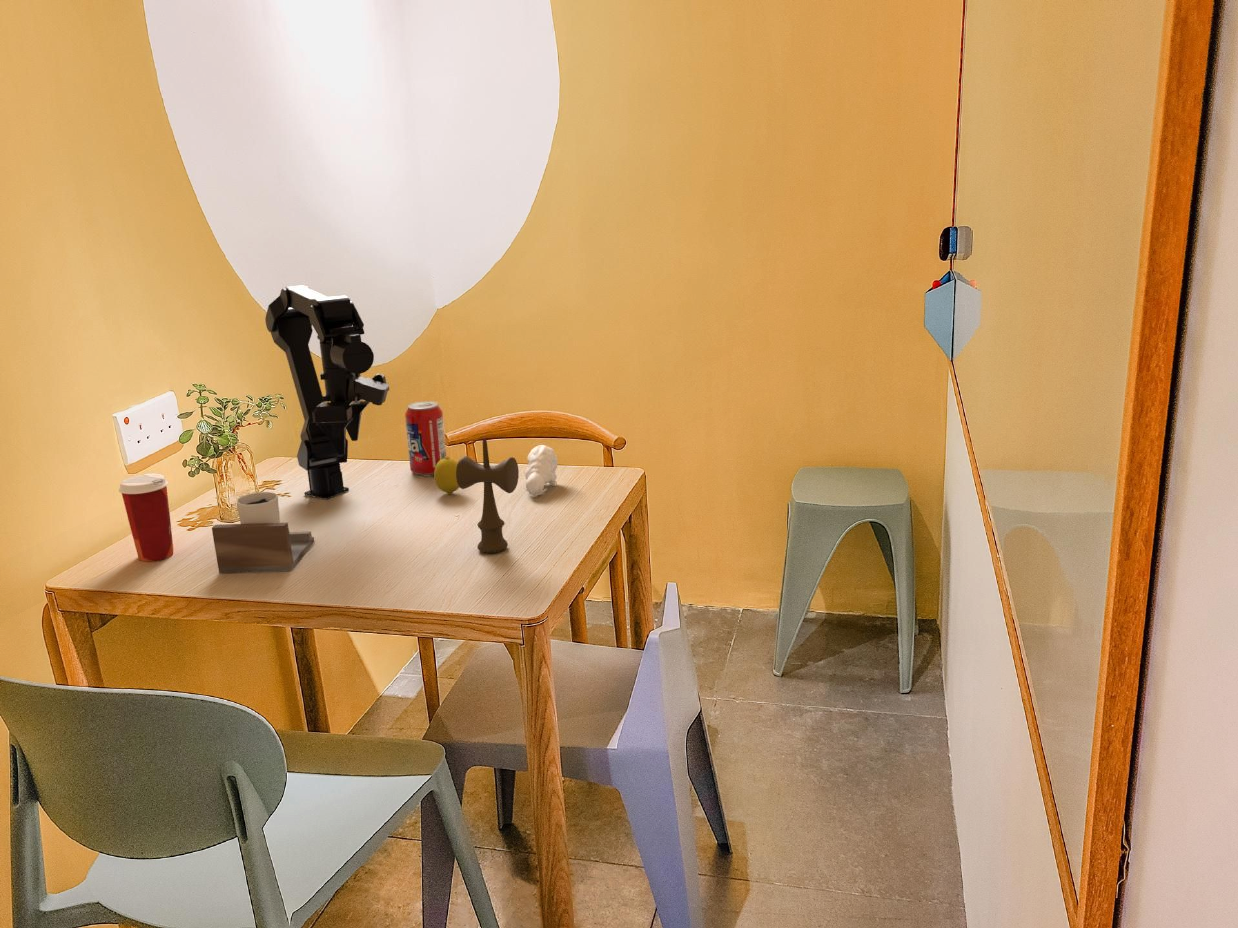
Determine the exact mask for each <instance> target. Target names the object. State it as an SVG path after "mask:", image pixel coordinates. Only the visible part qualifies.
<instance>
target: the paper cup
mask: <svg viewBox="0 0 1238 928" xmlns="http://www.w3.org/2000/svg"><path fill="white" fill-rule="evenodd" d="M168 485H169V482H168V480H166V477H165V476H164V474H160V473H144V474H143V473H142V474H138V475H137V474H136V475H132V476H130V477H127V478H125V479H123V480H122V481H121V482H120V487H119V488H118V491H119V492H118V493H121V496H122V500H123V504H124V507H125V511H126V515H127V519H128V524H129V527H130V531H131V534H132V535H131V536H132V539H133V542H134V547H135V551H136V554H137V556H138V559H139V561H141V562H144V563H146V562H147V563H154V562H159V561H163V560H166V559H168V558H170V557H172V556H173V555H174V543H173V534H172V533H173V532H172V522H171V516H170V515H171V514H170V505H169V497H168V487H167V486H168Z"/></svg>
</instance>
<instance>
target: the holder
mask: <svg viewBox="0 0 1238 928" xmlns="http://www.w3.org/2000/svg"><path fill="white" fill-rule="evenodd" d="M211 531H212V536H213V537H212V538H213V544H214V549H215V550H214V551H215V558H216V562H217V569H218V574H231V573H233V574H234V573H235V574H236V573H265V572H266V573H267V572H268V573H270V572H272V573H273V572H275V573H277V572H292V571H293V570H294V568H295V567H296V566H297V564H298V563H299V562H300V561H301V560H302V558H303V557H304V556H305V554H307V552H308V551H309V550H310V549H311V547H312V546H313V544H314V543H315V537H314V536H312V531H310V530H307V531H290V529H289V522H280V523H255V524H241V523H229V524H228V523H227V524H221V523H220V524H214V525H213V526H212V527H211Z"/></svg>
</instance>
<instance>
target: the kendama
mask: <svg viewBox="0 0 1238 928" xmlns="http://www.w3.org/2000/svg"><path fill="white" fill-rule="evenodd" d="M489 456H490V455H489V449H488V442H487V437H483V438H482V461H483V462H482V464H481V463H479V462H477V461H475V460H474V459H473V458H470V457H469V456H467V455H465V456H461V458H459V460H458V461H457V462H458V464H457V468H456V480H457V484H458V486H459V488H460V489H461V490H465V489H468V488H470V487H472V486H474V485H475V484H479V483H483V502H482V512H481V513H482V514H481V519H480V520H479V521H478V522H477V527H478V529H480V533H481V538H480V539H481V540H480V541H479V542H478V544H477V547H476V548H477V550H478V551H480V552H482V553H488V554H490V553H491V554H495V553H499V552H503V551H505V549H507V547H508V545H509V543H508V541H507V540H506V539H505V537H504V535H503V527H504V526H505V521H504V520H503V519H501V517H500V516H499V512H498V508H497V505H496V504H497V503H496V498H495V494H494V489H493V488H494V487H493V485H495V486H497V487H498V488H500V489H501V490H502V491H503V492H505V493H507V494H511V493H513V492H514V491H515V490H516V489H517V486H518V482H519V475H520V474H519V472H520V471H519V464H518V461H517V459H516V458H515V457H513V456H511V457H507V458H506V459H505V460H503V461H501V462H500V463H498V464H495V465H490V457H489ZM459 488H458V489H459Z"/></svg>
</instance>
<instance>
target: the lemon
mask: <svg viewBox="0 0 1238 928" xmlns="http://www.w3.org/2000/svg"><path fill="white" fill-rule="evenodd" d="M458 462H459V461H457V460H456V459H454V458H452V457H449V456H447V455H446V457H445V458H444V459H441V460H440V461H439V462H438V463H437V465H436V467H435V471H434V475H433V477H434V482H435V485H436V486H437V488H438V490H440V491H441V492H444V493H446V494H447V495H449V496H450V495H453V493H454V492H455V491H457V490H459V486H458V484H457V480H456V468H457V464H458Z"/></svg>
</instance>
